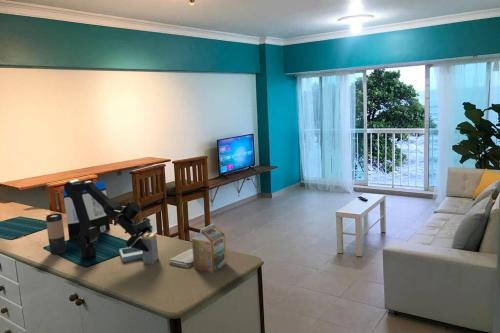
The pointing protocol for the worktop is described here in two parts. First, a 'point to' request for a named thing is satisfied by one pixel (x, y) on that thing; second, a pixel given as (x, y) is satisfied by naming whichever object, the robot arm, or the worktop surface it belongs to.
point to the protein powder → (93, 210)
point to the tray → (130, 254)
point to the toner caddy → (150, 248)
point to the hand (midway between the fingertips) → (152, 247)
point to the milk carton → (209, 249)
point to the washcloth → (183, 259)
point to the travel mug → (56, 233)
